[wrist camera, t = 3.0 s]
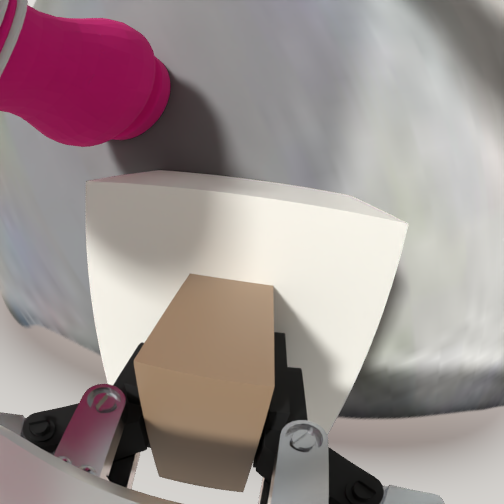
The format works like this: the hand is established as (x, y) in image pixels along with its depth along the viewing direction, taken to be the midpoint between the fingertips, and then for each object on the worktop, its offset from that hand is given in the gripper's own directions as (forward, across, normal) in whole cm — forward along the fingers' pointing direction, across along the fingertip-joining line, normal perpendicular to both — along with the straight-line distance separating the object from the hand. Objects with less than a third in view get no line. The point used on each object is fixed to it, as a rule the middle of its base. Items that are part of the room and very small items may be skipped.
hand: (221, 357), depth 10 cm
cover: (+9, 0, 0) cm, 9 cm away
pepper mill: (+9, +9, -11) cm, 17 cm away
